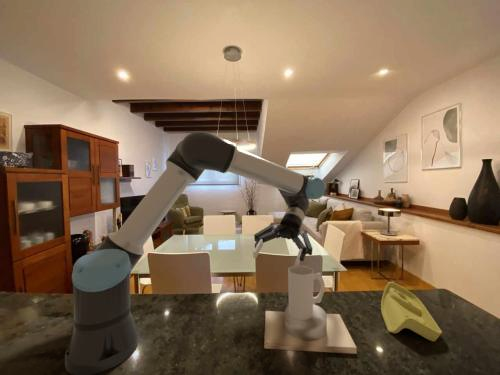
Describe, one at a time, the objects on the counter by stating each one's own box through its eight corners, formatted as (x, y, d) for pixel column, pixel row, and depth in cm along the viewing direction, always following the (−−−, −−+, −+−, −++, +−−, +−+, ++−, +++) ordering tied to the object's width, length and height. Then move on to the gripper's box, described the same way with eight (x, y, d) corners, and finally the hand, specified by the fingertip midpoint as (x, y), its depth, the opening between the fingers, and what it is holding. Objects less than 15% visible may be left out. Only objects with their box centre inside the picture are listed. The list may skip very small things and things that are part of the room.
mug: (291, 321, 59) (291, 275, 59) (285, 307, 66) (285, 265, 65) (329, 319, 60) (330, 273, 60) (319, 305, 67) (319, 264, 66)
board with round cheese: (264, 348, 57) (264, 326, 57) (265, 315, 71) (265, 298, 71) (356, 353, 55) (356, 331, 55) (339, 319, 69) (339, 301, 69)
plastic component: (445, 336, 58) (404, 314, 60) (429, 358, 60) (389, 335, 62) (416, 294, 77) (386, 278, 79) (404, 311, 78) (375, 295, 81)
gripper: (325, 235, 86) (314, 280, 69) (262, 222, 96) (239, 258, 79) (327, 219, 82) (315, 262, 66) (261, 207, 92) (237, 242, 75)
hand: (274, 260), depth 72 cm, fingers open, 13 cm apart
